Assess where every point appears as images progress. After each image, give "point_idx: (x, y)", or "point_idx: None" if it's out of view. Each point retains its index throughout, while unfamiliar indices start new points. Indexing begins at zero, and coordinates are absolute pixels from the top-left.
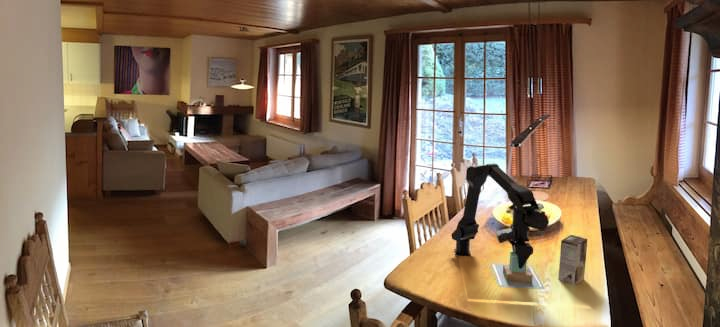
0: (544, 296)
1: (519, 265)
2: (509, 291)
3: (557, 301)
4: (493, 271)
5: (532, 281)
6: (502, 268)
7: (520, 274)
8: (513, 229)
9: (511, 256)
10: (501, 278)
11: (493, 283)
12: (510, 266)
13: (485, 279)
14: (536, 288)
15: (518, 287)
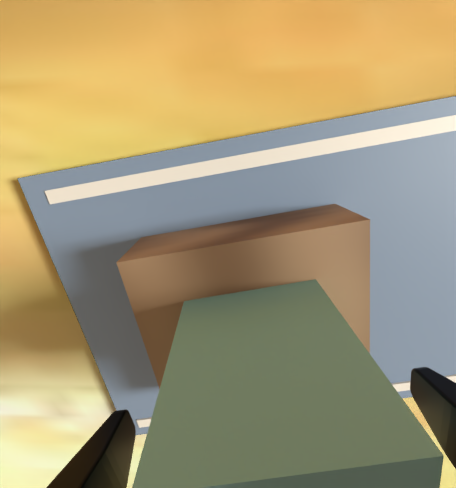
0: (59, 419)
1: (85, 453)
2: (21, 252)
3: (31, 461)
4: (337, 119)
5: None
6: (420, 199)
7: (156, 365)
8: None
9: (267, 428)
10: (193, 195)
11: (111, 130)
12: (268, 302)
13: (171, 49)
14: (113, 400)
15: (75, 312)
